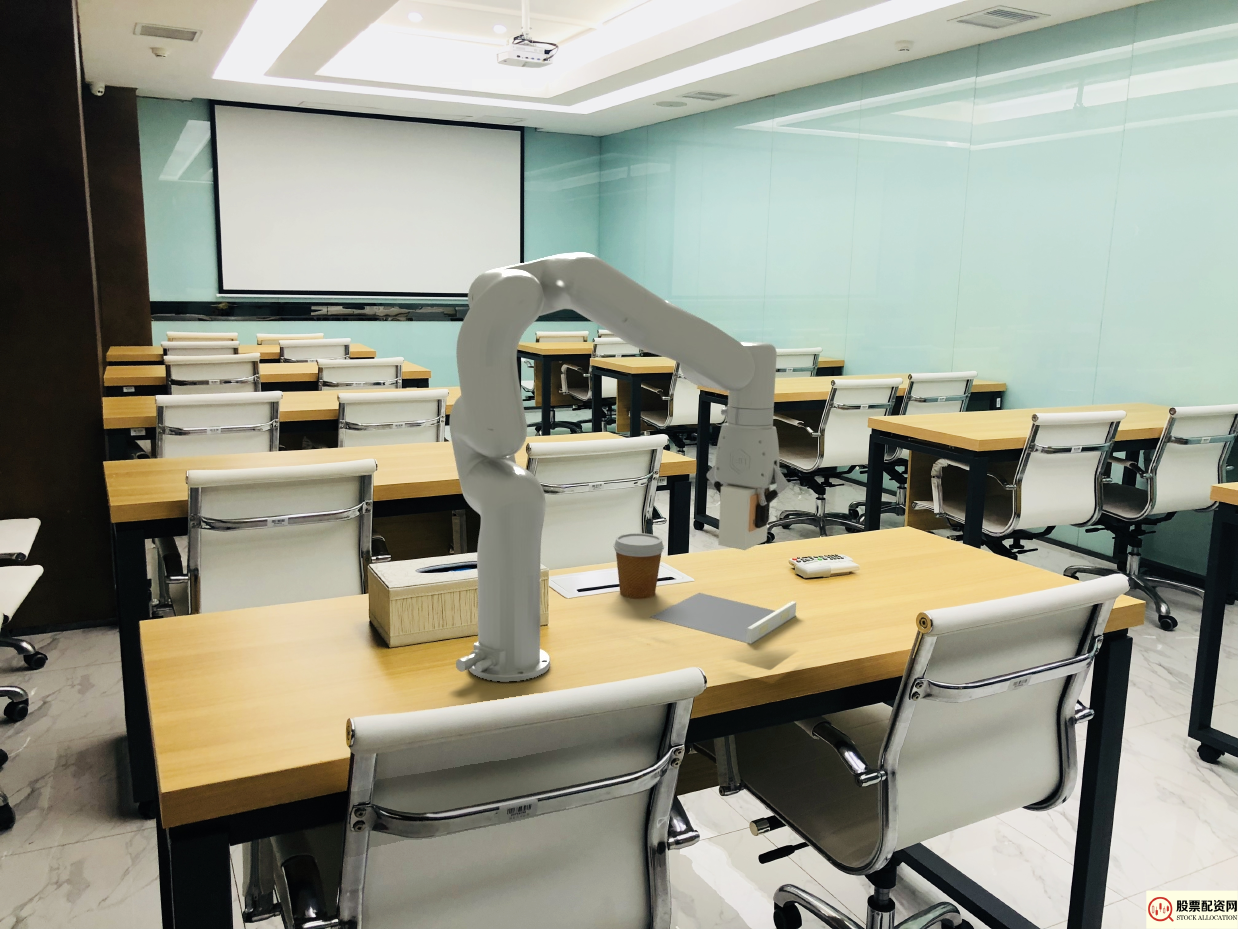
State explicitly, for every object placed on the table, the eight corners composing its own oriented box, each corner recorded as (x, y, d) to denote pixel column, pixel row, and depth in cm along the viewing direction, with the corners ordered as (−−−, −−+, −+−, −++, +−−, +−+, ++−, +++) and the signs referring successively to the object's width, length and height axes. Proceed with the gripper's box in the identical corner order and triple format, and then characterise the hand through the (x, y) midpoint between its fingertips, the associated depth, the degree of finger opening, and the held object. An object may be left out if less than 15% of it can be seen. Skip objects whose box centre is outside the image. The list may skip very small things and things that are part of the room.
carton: (718, 545, 156) (720, 486, 154) (740, 535, 162) (743, 479, 160) (747, 550, 153) (750, 491, 151) (768, 540, 159) (771, 483, 157)
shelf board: (751, 652, 151) (752, 629, 150) (649, 625, 162) (649, 603, 161) (796, 623, 164) (797, 602, 164) (698, 600, 176) (699, 580, 175)
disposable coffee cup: (643, 612, 168) (644, 549, 166) (601, 601, 174) (603, 539, 172) (672, 599, 176) (674, 538, 174) (632, 589, 181) (633, 529, 179)
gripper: (694, 414, 155) (689, 519, 159) (788, 425, 146) (781, 536, 149) (716, 410, 161) (711, 511, 165) (807, 420, 152) (800, 527, 155)
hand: (744, 522), depth 157 cm, fingers closed on carton, 5 cm apart
